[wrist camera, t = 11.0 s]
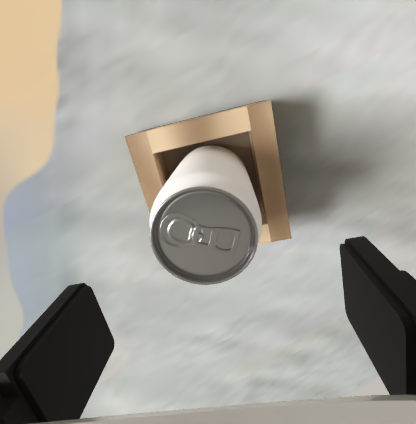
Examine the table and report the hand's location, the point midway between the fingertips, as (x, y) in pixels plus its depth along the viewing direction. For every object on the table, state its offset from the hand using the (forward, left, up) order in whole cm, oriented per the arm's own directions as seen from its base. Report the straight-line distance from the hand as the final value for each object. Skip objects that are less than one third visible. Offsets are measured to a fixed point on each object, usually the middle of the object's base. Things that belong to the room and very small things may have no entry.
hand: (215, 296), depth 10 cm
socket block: (+1, 0, -18) cm, 18 cm away
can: (+1, 0, -17) cm, 17 cm away
